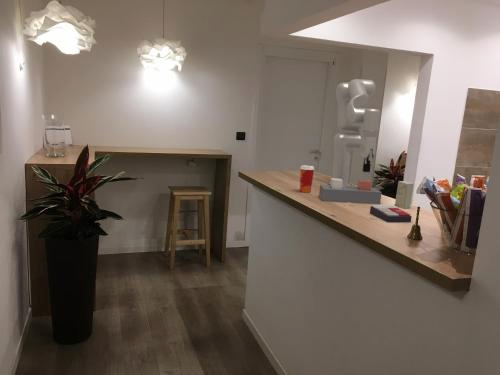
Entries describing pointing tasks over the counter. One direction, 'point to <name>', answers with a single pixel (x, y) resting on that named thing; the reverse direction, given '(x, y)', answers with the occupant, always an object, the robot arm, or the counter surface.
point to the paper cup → (306, 178)
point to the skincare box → (404, 194)
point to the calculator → (390, 214)
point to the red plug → (364, 185)
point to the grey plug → (336, 183)
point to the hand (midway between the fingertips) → (366, 171)
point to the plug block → (349, 195)
